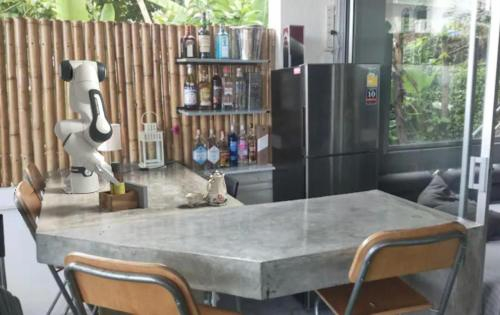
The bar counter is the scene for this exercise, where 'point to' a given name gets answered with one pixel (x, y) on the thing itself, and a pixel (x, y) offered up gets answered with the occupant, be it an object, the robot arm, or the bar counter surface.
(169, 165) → the bar counter surface
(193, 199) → the chinaware
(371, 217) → the bar counter surface
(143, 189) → the backstop wall
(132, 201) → the wooden box
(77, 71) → the robot arm
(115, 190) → the sauce bottle
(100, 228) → the bar counter surface
